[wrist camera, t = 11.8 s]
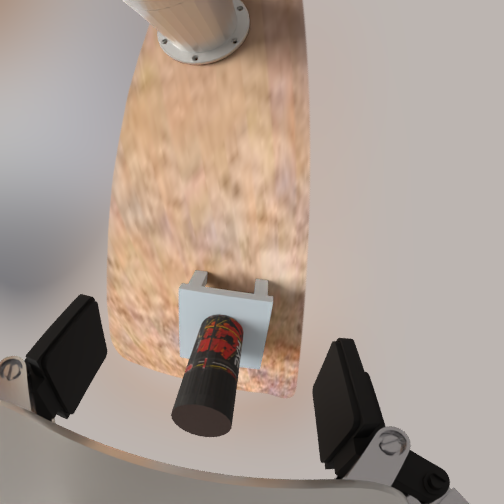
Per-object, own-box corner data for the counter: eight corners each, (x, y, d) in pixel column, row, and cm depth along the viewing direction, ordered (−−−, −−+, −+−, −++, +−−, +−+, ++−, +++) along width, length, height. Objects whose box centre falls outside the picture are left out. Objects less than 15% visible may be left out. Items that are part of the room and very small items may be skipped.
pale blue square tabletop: (192, 265, 42) (178, 288, 35) (272, 277, 42) (273, 302, 35) (190, 329, 46) (180, 356, 40) (261, 340, 46) (259, 369, 40)
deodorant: (252, 338, 38) (243, 430, 24) (217, 354, 39) (198, 440, 25) (226, 307, 36) (204, 398, 22) (191, 325, 37) (159, 411, 23)
